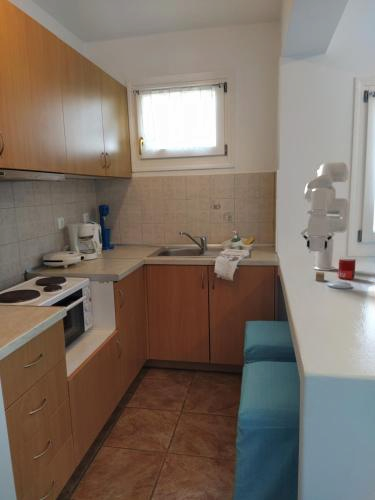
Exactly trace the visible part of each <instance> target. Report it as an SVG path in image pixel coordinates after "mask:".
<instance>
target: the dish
mask: <svg viewBox="0 0 375 500" xmlns="http://www.w3.org/2000/svg"><path fill="white" fill-rule="evenodd" d="M326 285H327V287H328V288H331V289H336V290H348V289H352V283H350V282H347V281H339V280H331V281H327V282H326Z"/></svg>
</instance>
